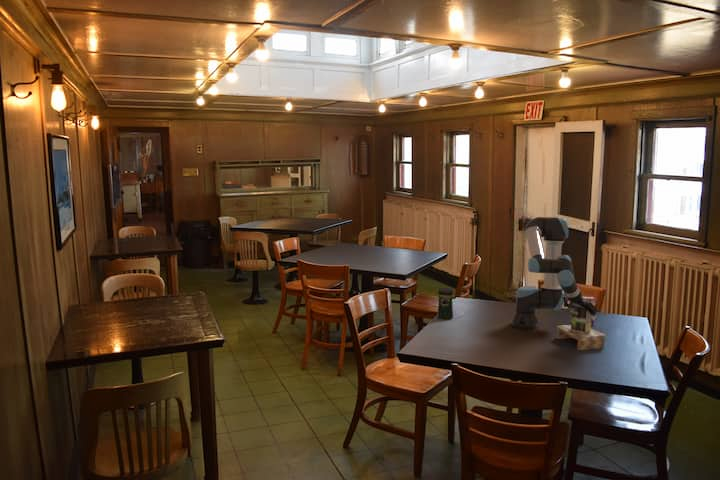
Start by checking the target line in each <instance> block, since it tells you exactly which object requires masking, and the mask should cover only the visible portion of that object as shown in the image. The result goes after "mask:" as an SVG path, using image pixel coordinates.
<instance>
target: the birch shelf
mask: <svg viewBox="0 0 720 480" xmlns="http://www.w3.org/2000/svg"><path fill="white" fill-rule="evenodd" d="M556 339H558V340H563V339H564V340H565V339H575V340H577V344H576V345H577V346H576V349H577V350H579V351H583V350H585V351H586V350H596V349H604V347H605V339H606V334H604V333H602V332H600V331H598V330H596V329H593V328H591V332H589V333H579V332H575V331H572V330H571V324H563V325H556Z"/></svg>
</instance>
